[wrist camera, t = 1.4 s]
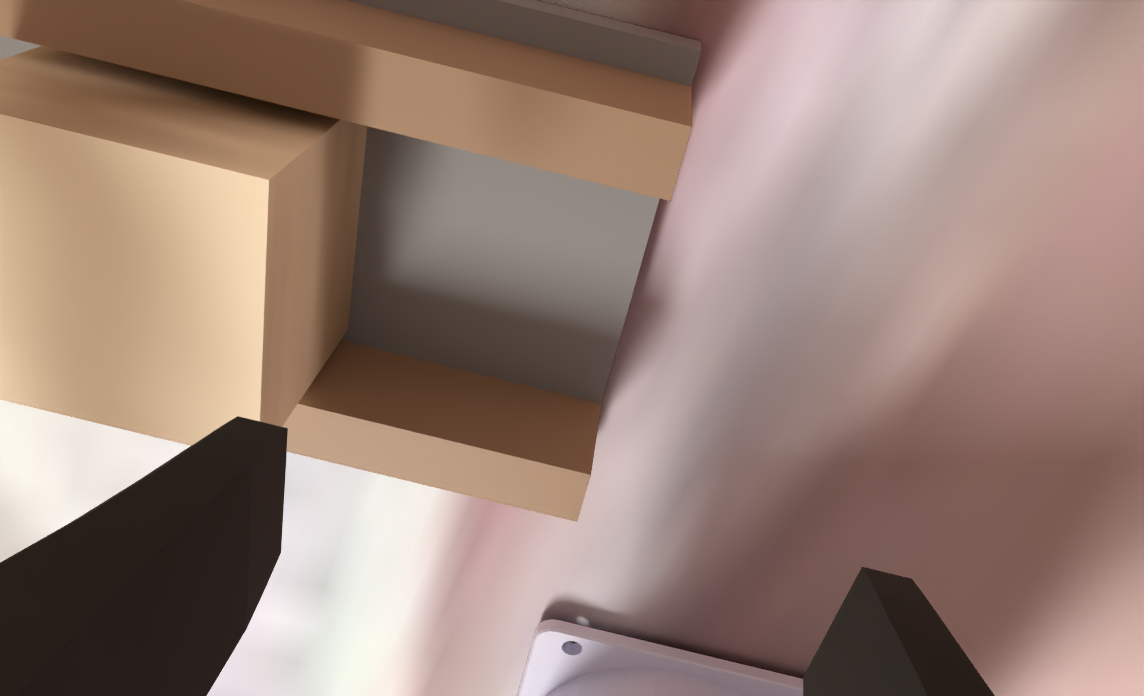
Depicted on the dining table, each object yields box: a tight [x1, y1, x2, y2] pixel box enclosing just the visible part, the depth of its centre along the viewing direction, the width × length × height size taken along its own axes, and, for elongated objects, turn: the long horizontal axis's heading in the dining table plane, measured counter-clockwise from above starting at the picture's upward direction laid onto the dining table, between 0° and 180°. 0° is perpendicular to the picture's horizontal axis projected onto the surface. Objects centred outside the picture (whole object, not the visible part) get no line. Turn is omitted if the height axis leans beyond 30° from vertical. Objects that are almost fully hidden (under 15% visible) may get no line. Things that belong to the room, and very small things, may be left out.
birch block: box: [0, 46, 367, 446], centre depth 15 cm, size 5×5×4 cm
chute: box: [0, 0, 702, 522], centre depth 17 cm, size 22×9×3 cm, turn 78°
